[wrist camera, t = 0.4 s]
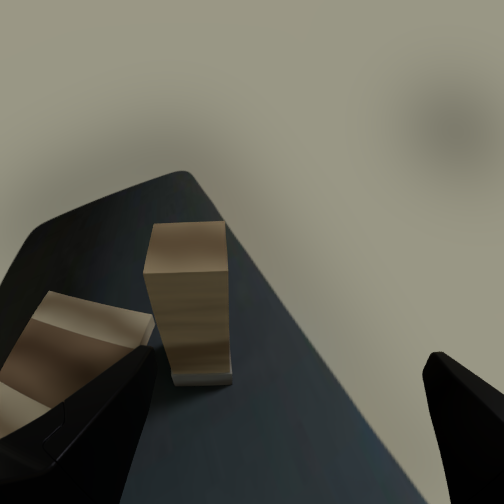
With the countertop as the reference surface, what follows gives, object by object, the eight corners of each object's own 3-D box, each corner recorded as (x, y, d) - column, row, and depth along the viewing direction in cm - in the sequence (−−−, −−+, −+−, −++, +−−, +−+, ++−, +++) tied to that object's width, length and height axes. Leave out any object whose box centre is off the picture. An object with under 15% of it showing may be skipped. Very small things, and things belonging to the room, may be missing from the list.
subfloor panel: (81, 540, 12) (73, 539, 11) (-29, 467, 13) (-39, 462, 12) (155, 324, 29) (152, 314, 28) (53, 300, 30) (49, 290, 29)
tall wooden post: (232, 384, 25) (231, 272, 16) (175, 386, 24) (139, 275, 16) (228, 338, 28) (227, 219, 20) (176, 340, 28) (151, 222, 19)
